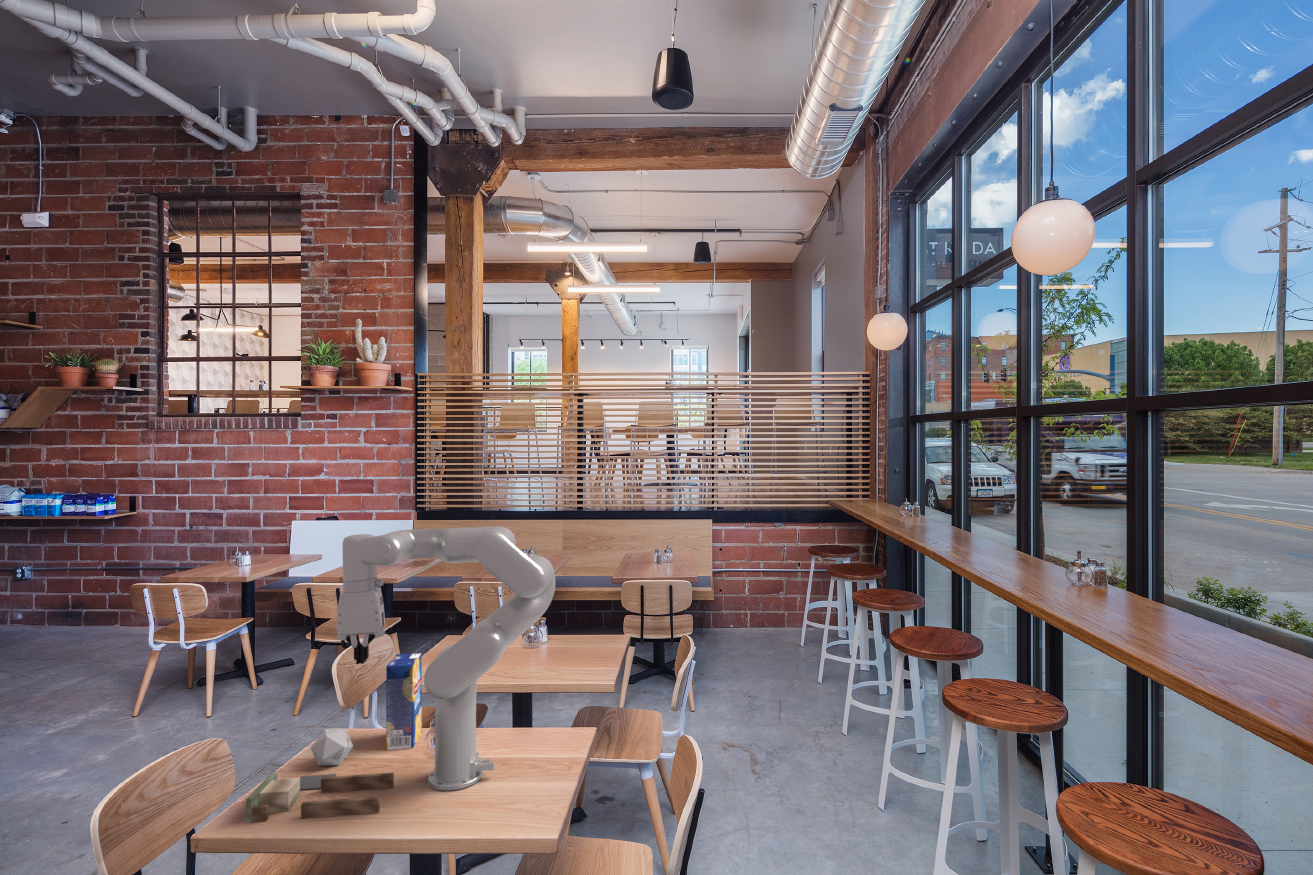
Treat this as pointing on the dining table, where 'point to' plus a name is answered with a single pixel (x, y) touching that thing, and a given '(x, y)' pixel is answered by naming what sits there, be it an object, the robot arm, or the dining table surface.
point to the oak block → (280, 794)
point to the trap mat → (312, 781)
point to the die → (331, 747)
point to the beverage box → (403, 701)
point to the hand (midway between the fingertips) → (361, 662)
